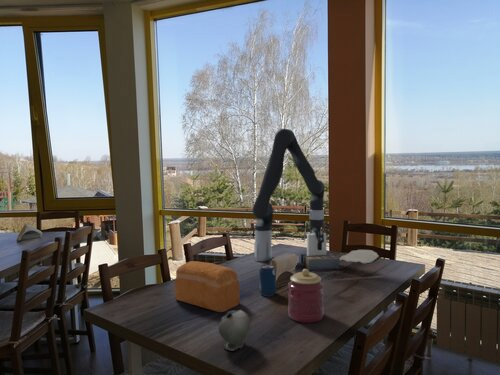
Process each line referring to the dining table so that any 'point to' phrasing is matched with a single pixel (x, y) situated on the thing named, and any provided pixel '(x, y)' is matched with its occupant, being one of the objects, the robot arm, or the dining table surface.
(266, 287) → the soda can
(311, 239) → the cream board
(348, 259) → the stone tablet
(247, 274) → the dining table surface
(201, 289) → the bread
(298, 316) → the canister
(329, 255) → the offcut block right
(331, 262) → the metal rack
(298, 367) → the dining table surface
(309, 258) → the offcut block left
